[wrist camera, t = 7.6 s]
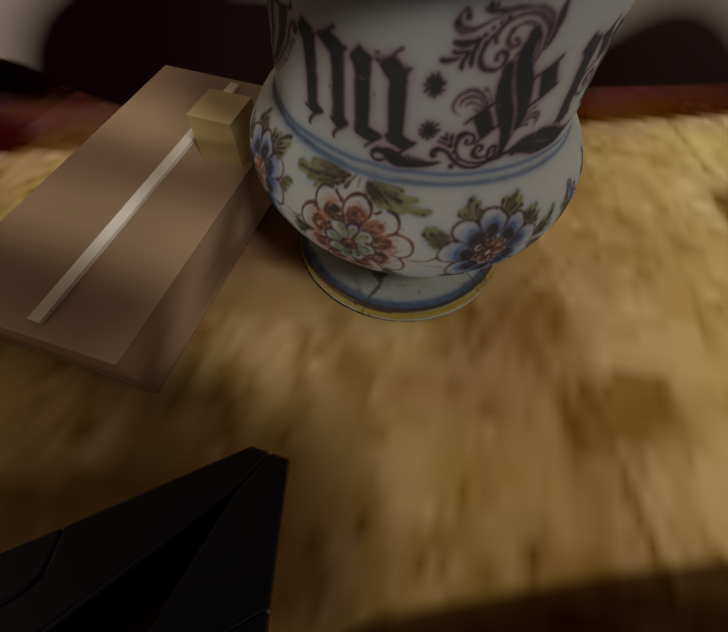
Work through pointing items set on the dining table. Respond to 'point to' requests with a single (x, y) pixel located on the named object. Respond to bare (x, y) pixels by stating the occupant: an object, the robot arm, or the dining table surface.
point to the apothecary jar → (424, 138)
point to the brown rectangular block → (135, 231)
